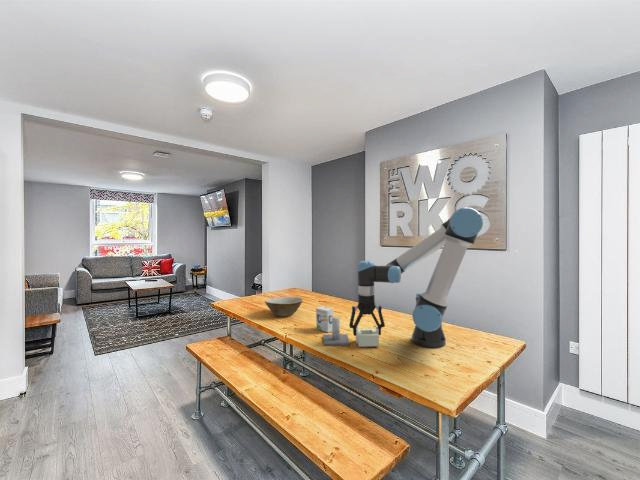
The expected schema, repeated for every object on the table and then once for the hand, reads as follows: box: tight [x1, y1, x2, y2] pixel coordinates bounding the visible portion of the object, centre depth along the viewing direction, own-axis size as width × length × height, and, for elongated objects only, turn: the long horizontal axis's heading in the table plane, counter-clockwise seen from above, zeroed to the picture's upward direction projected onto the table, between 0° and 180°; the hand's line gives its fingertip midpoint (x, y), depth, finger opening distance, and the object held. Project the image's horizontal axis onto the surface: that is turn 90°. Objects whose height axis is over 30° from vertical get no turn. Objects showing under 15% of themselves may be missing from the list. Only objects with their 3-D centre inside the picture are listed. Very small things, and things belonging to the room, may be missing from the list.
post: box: [322, 316, 351, 347], centre depth 145 cm, size 12×12×11 cm
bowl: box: [264, 296, 304, 317], centre depth 190 cm, size 24×24×10 cm
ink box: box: [315, 305, 334, 333], centre depth 161 cm, size 9×5×12 cm, turn 47°
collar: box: [357, 328, 380, 348], centre depth 141 cm, size 9×9×5 cm
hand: (367, 342), depth 141 cm, fingers closed on collar, 9 cm apart
